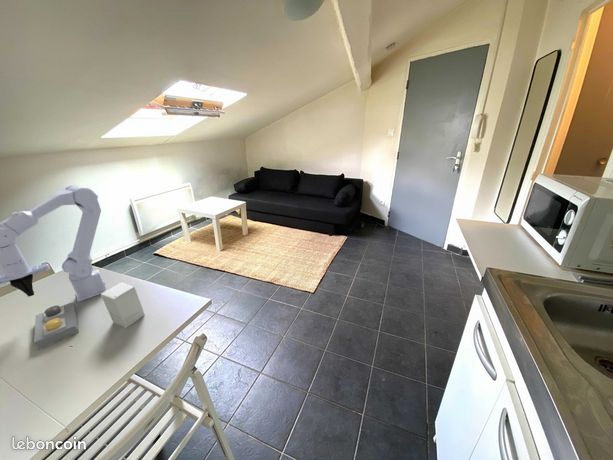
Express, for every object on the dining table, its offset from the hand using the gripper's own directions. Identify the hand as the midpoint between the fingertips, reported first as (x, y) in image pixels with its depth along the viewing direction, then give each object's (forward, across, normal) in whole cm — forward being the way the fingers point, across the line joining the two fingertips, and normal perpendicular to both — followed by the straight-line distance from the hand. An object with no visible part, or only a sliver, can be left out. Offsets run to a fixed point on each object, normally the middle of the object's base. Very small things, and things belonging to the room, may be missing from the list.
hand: (31, 294), depth 91 cm
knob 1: (+10, -4, +7) cm, 12 cm away
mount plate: (+10, -4, +11) cm, 15 cm away
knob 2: (+10, -4, +15) cm, 18 cm away
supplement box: (+10, -22, +24) cm, 34 cm away
